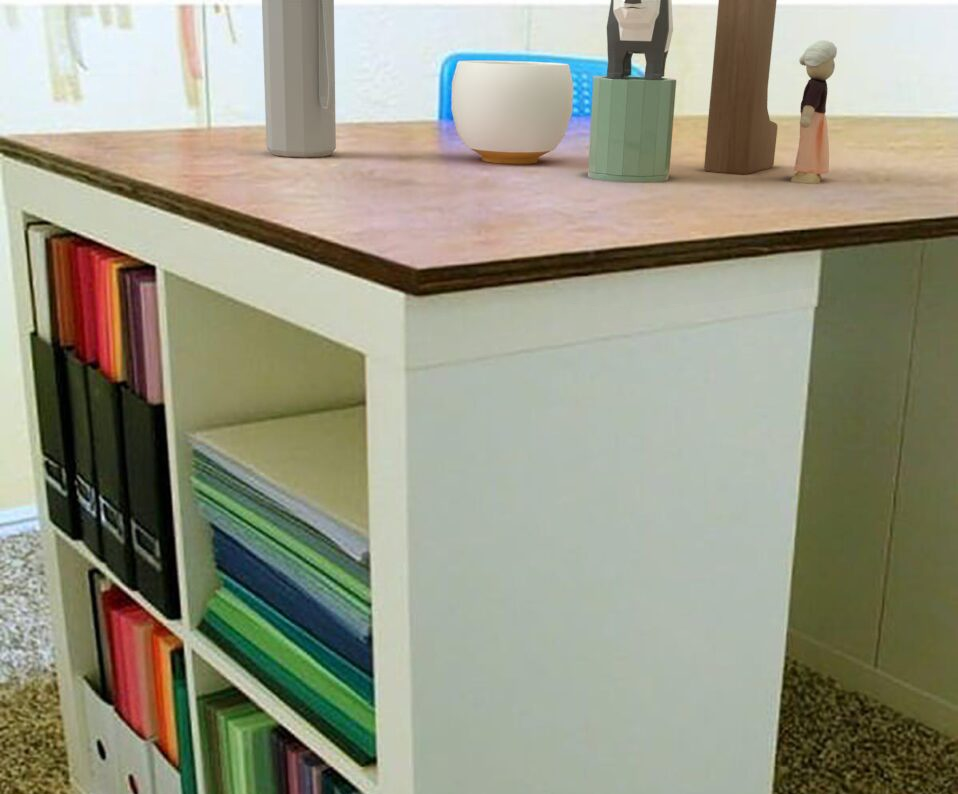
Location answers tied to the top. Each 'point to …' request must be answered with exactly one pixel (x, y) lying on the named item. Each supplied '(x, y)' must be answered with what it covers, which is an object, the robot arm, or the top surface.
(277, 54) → the water bottle
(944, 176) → the top surface
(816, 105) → the grandmother figurine
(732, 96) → the wooden block
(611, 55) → the giant panda
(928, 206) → the top surface
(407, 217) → the top surface
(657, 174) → the green cup
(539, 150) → the cup
